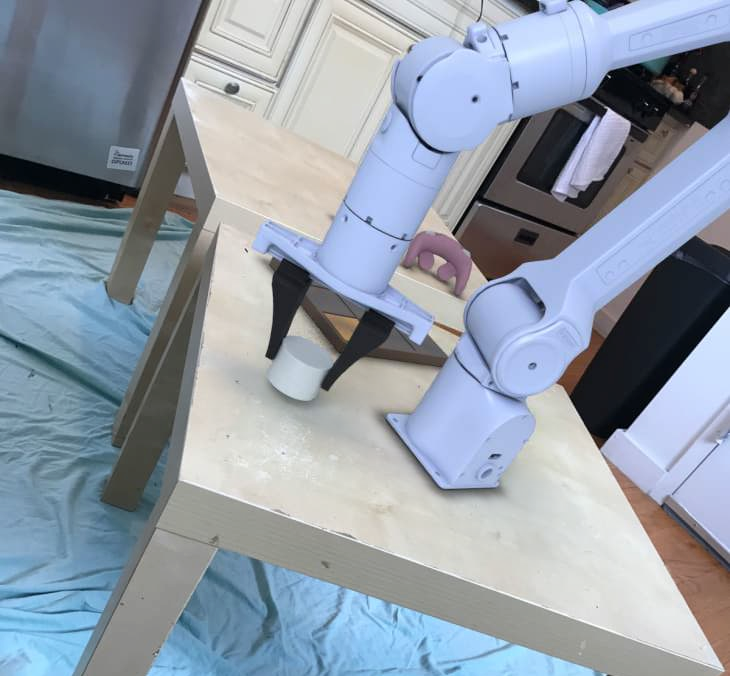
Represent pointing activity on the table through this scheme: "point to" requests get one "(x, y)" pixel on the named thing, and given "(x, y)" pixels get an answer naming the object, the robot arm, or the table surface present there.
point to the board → (343, 318)
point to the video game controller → (446, 249)
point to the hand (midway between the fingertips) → (299, 370)
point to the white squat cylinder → (299, 368)
